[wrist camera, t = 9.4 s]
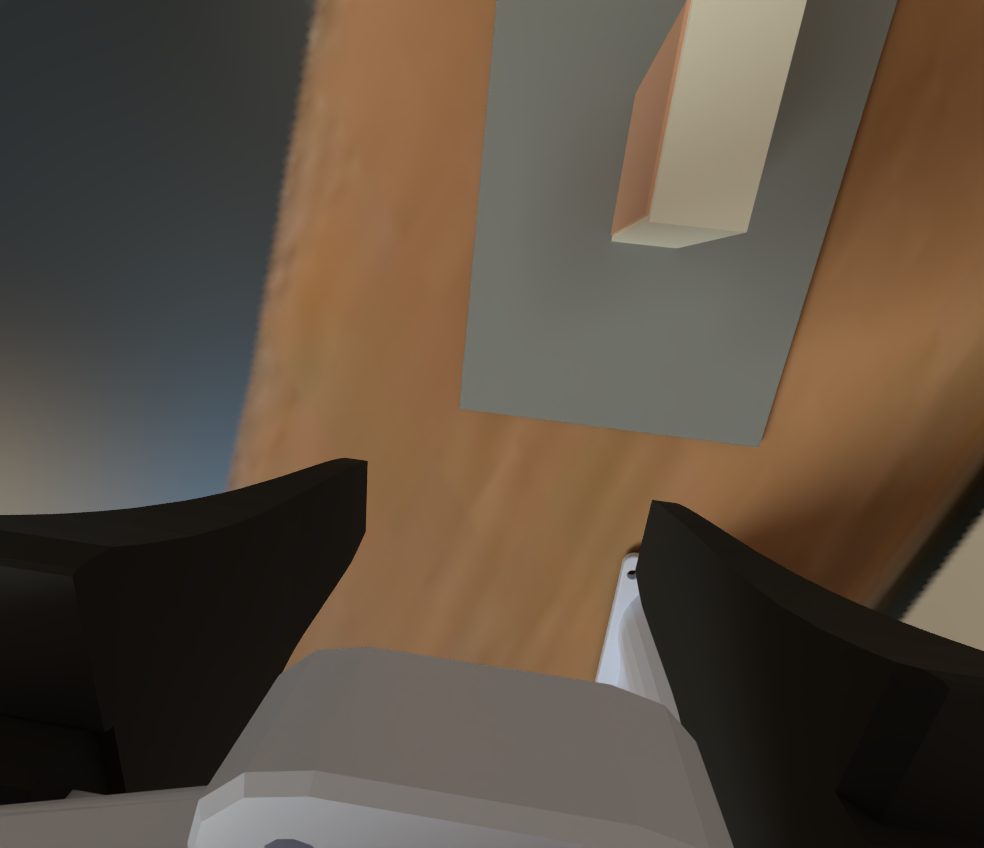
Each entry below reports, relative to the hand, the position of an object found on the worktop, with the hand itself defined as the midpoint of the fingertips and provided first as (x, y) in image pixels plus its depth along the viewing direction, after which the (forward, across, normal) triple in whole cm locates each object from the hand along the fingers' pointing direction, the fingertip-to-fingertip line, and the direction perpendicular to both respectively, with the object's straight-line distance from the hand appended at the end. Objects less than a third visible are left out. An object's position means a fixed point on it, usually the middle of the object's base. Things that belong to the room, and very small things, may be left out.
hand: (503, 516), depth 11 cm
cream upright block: (+9, -4, -10) cm, 14 cm away
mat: (+9, -4, -9) cm, 14 cm away
